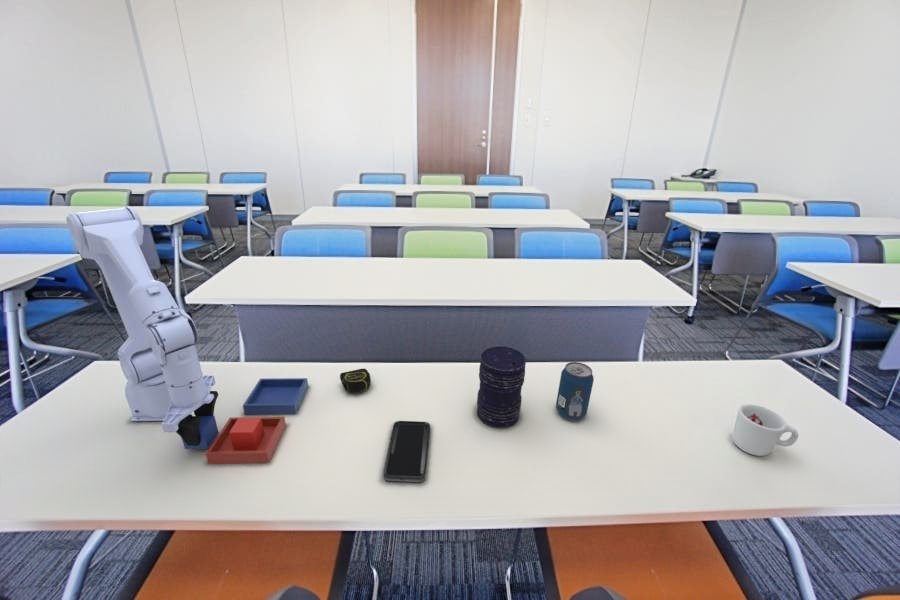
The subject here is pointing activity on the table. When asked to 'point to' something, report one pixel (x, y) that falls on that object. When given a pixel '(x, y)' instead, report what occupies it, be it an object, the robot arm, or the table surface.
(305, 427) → the table surface
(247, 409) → the blue tray
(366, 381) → the tape measure
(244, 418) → the red block
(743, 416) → the cup
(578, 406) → the soda can
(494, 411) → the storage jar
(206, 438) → the blue block
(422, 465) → the phone
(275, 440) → the red tray
